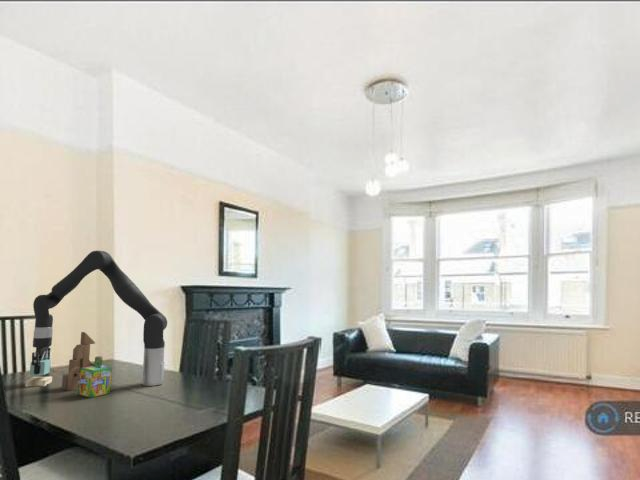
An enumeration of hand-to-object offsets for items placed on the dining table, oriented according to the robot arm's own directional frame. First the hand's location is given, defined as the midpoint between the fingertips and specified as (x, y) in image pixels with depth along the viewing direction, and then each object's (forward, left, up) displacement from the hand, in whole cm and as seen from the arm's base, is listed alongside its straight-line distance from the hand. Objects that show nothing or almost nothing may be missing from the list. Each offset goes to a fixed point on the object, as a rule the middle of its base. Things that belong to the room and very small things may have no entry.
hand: (39, 372), depth 194 cm
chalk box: (-31, +22, -6) cm, 38 cm away
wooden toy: (-21, +7, -6) cm, 23 cm away
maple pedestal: (0, 0, -6) cm, 6 cm away
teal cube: (0, 0, -1) cm, 1 cm away
